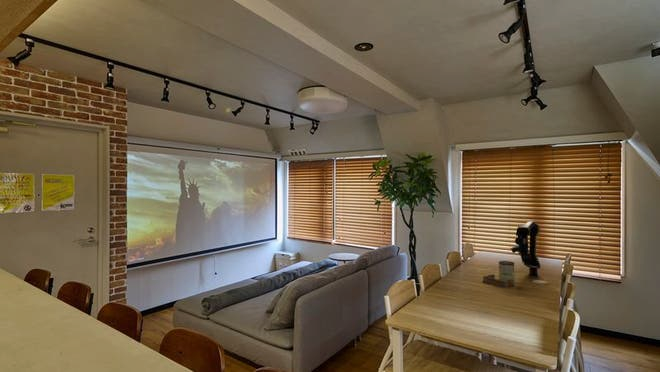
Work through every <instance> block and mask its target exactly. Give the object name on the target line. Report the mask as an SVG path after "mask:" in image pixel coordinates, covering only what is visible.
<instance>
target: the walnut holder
mask: <svg viewBox="0 0 660 372" xmlns="http://www.w3.org/2000/svg"><path fill="white" fill-rule="evenodd" d="M482 277H483V278H482V279H483V282H484V283H488V284H491V285H496V286H498V287H500V288H501V287H502V288H507V287H511V286H514V285H515V282H514V279H510V280H505V281H502V280H499V279H498V278H495V277H496V276H495V274H494V273H493V274H487V275H483V276H482Z"/></svg>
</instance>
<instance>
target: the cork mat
mask: <svg viewBox="0 0 660 372" xmlns="http://www.w3.org/2000/svg"><path fill="white" fill-rule="evenodd" d="M531 283H532V284H535V285H540V286H541V285H542V286H547V285H548V284H549V282H547V281H545V280H538V279H534V280H532V281H531Z"/></svg>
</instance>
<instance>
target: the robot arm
mask: <svg viewBox="0 0 660 372" xmlns="http://www.w3.org/2000/svg"><path fill="white" fill-rule="evenodd" d="M540 231H541V227H540V226H539V224H537V223H535V221H532V220H531V221H530V220H529V221H528V220H527V221H526V223H524V224H523V225H519V226H518V227H517V228H516V232H515V233H516V234H515V236H516V237H515V239H514V243H515V244H516V246H513V247H511V248H510V250H511V252H512V253H513V254H514V253H517V254H518V255H520V260H521V262H522V263H523V265H524V266H525V267H527V268H528V269H529V270H528V276H533V277H539V273H538V272H539V270H540V269H541V263H540V261H539V258H538V255H537V237H538V236H539V234H540Z"/></svg>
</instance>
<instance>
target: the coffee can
mask: <svg viewBox="0 0 660 372" xmlns="http://www.w3.org/2000/svg"><path fill="white" fill-rule="evenodd" d="M498 274H499V275H498V276H499V277H498V278H499V279H498V280H502V281H505V280H510V279H514V283H515V280H516V277H515V275H516V274H515V262H514V261H508V260H499V261H498Z"/></svg>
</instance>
